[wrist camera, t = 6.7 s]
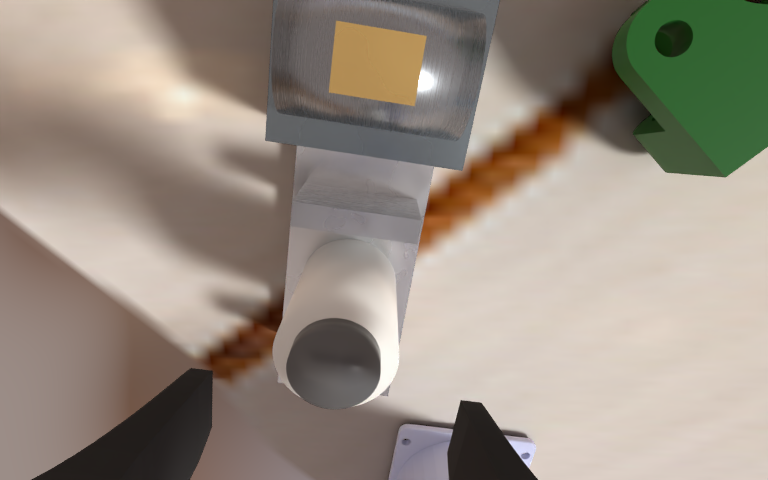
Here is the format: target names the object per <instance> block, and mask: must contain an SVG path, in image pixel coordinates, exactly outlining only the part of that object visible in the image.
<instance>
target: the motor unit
mask: <svg viewBox="0 0 768 480" xmlns="http://www.w3.org/2000/svg"><path fill="white" fill-rule="evenodd" d="M499 2H500V0H273V15H272V33H271V50H270V68H269V86H268V103H267V121H266V138H265V141H271V142H278V143H284V144H291V145H297V149H296V161H295V173H294V185H293V197H292V210H291V222H290V234H289V246H288V258H287V270H286V283H285V295H284V307H283V317H284V315H285V312H286V310H287V308H288V305H289V303H290V300H291V298H292V296H293V293H294V291H295V289H296V286H297V284H298V281H299V279H300V277H301V274H302V272H303V270H304V267H305V265H306V263H307V261H308V259H309V258H310V257H311V255H312V254H313V253H314V252H315V251H316V250H317V249H319V248H320V247H321V246H323V245H325V244H327V243H329V242H332V241H335V240H341V239H355V240H360V241H364V242H366V243H369V244H371V245H373V246H375V247H376V248H378V249H379V250H380V251H381V252H382V253H384V255H385V256H386V257H387V258H388V260H389V261H390V263H391V265H392V267H393V269H394V272H395V278H396V296H397V319H398V341H399V343H400V338H401V333H402V328H403V323H404V318H405V312H406V307H407V302H408V297H409V292H410V287H411V282H412V277H413V272H414V266H415V261H416V256H417V251H418V246H419V241H420V236H421V231H422V226H423V220H424V215H425V210H426V205H427V200H428V195H429V190H430V185H431V180H432V174H433V169H434V166H435V167H441V168H448V169H454V170H461V171H462V170H463V166H464V161H465V157H466V152H467V148H468V143H469V139H470V134H471V129H472V125H473V120H474V116H475V111H476V107H477V102H478V98H479V93H480V88H481V84H482V79H483V75H484V70H485V66H486V61H487V57H488V52H489V47H490V43H491V38H492V34H493V29H494V25H495V20H496V16H497V11H498V7H499ZM277 383H283V382H282V380H281V378H280V377H279V375H278V382H277ZM389 388H390V385H389V386H388V387H387V388H386V389H385V391H383V392H382V393H381V394H380V395H383V396H388V393H389Z"/></svg>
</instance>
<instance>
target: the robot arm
mask: <svg viewBox="0 0 768 480" xmlns="http://www.w3.org/2000/svg"><path fill="white" fill-rule="evenodd" d="M212 374H213V371H210V370H202V369H193V368H191V369H189V370H188V371H186V372H185V373H184V374H183V375H181V376H180V377H179V378H178V379H176V380H175V381H174V382H173V383H172V384H170V385H169V386H168V387H167V388H166V389H164V390H163V391H162V392H161V393H159V394H158V395H157V396H156V397H154V398H153V399H152V400H151V401H149V402H148V403H147V404H146V405H144V406H143V407H142V408H140V409H139V410H138V411H136V412H135V413H134V414H133V415H131V416H130V417H129V418H128V419H126V420H125V421H123V422H122V423H121V424H119V425H118V426H116V427H115V428H114V429H112V430H111V431H110V432H108V433H107V434H105V435H104V436H102V437H101V438H99V439H98V440H97V441H95V442H94V443H92V444H91V445H89V446H88V447H86V448H84V449H83V450H81V451H80V452H78V453H77V454H75V455H74V456H72V457H70V458H69V459H67V460H65V461H64V462H62V463H61V464H59V465H57V466H55V467H54V468H52V469H50V470H48V471H47V472H45V473H43V474H41V475H39V476H37V477H36V478H34V479H32V480H190V478H191V476H192V474H193V472H194V470H195V468H196V466H197V464H198V462H199V460H200V457H201V455H202V452H203V449H204V446H205V444H206V441H207V439H208V436H209V433H210V430H211V428H212ZM403 439H408V440H403ZM535 451H536V446H535V443H534V441H533V440H532V439H530V438H524V437H515V436H507V435H504V434H503V433H502V432H501V430H500V429H499V427H498V426H497V424H496V423H495V421H494V420H493V419H492V417H491V416H490V414H489V413H488V411H487V410H486V409H485V407H484V406H483V404H482V403H479V402H471V401H462V400H461V402H460V406H459V410H458V413H457V417H456V421H455V425H454V429H448V428H439V427H431V426H422V425H414V424H404V425H402V426H401V427H400V428H399V431H398V436H397V441H396V445H395V450H394V455H393V459H392V464H391V469H390V473H389V478H388V480H538V479H537V478H536V477H535V476H534V474H533V473H532V472H531V471H530V469H529V467H530V464H531V462H532V459H533V456H534V453H535ZM525 452H527V453H525ZM522 453H525V454H522Z"/></svg>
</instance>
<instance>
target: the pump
mask: <svg viewBox="0 0 768 480" xmlns="http://www.w3.org/2000/svg"><path fill="white" fill-rule="evenodd" d="M273 362H274V365H275V369H276V371H277V373H278V375H279V377H280V378H281V380H282V382H283V383H284V384H285V385H286V386H287V387H288V388H289V389H290V390H291V391H292V392H293V393H294V394H296V395H297V396H299V397H300V398H302V399H304V400H305V401H307V402H309V403H310V404H313V405H315V406H318V407H321V408H326V409H345V408H349V407H353V406H358V405H361V404H364V403H366V402H368V401H370V400H372V399H374V398H376V397H377V396H379V395H380V394H381V393H382V392H383V391H385V389H386V388H387V387H388V386H389V385H390V383H391V382H392V380H393V379H394V377H395V375H396V372H397V369H398V364H399V341H398V319H397V296H396V278H395V272H394V269H393V267H392V265H391V263H390V261H389V260H388V258H387V257H386V256H385V255H384V253H382V252H381V251H380V250H379V249H378V248H376V247H375V246H373V245H371V244H369V243H366V242H364V241H360V240H355V239H341V240H335V241H332V242H329V243H327V244H325V245H323V246H321V247H320V248H319V249H317V250H316V251H315V252H314V253H313V254H312V255H311V257H310V258H309V259H308V261H307V263H306V265H305V267H304V270H303V272H302V274H301V277H300V279H299V281H298V284H297V286H296V289H295V291H294V293H293V296H292V298H291V300H290V303H289V305H288V308H287V310H286V312H285V315H284V317H283V319H282V322H281V324H280V327H279V329H278V331H277V334H276V336H275V339H274V343H273Z"/></svg>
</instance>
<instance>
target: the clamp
mask: <svg viewBox="0 0 768 480" xmlns="http://www.w3.org/2000/svg"><path fill="white" fill-rule="evenodd" d="M656 48H657V49H658V50H659V52H660V53H661V54H662V55H661V54H660V53H659V52H658V51H657V49H656ZM612 60H613V65H614V68H615V70H616V72H617V74H618V75H619V77H620V78H621V79H622V80H623V82H624V83H625V84H626V85H627V86H628V87H629V89H630V90H631V91H632V92H633V93H634V95H635V96H636V97H637V98H638V99H639V100H640V102H641V103H642V104H643V105H644V106H645V108H646V109H647V110H648V111H649V112H650V113H651V115H650V116H649V117H648V118H646V119H645V120H644V121H643V122H641V123H640V124H639V125H638V126H637V128H636V129H635V130H634V132H633V135H634V136H635V137H636V138H637V139H638V141H639V142H640V143H641V144H642V145H643V147H644V148H645V149H646V150H647V151H648V152H649V154H650V155H651V156H652V157H653V158H654V159H655V161H656V162H657V163H658V164H659V165H660V167H661V168H662V169H663V170H664V171H665V172H667V173H679V174H691V175H703V176H716V177H727V176H728V175H730V174H731V173H732V172H734V171H735V170H736V169H738V168H739V167H740V166H742V165H743V164H745V163H746V162H747V161H749V160H750V159H751V158H753V157H754V156H756V155H757V154H758V153H760V152H761V151H762V150H764V149H765V148H767V147H768V0H762V1H761V3H760V4H758V3H752V2H748V1H745V0H648V1H646V2H645V3H644V4H643V5H642V6H640V7H639V8H638V9H637V10H636V11H635V12H634V13H632V14H631V17H630V18H629V19H628V20H627V21H626V22H625V23H624V24H623V25H622V27H621V28H620V29H619V31H618V33H617V35H616V37H615V40H614V43H613V48H612Z"/></svg>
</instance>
